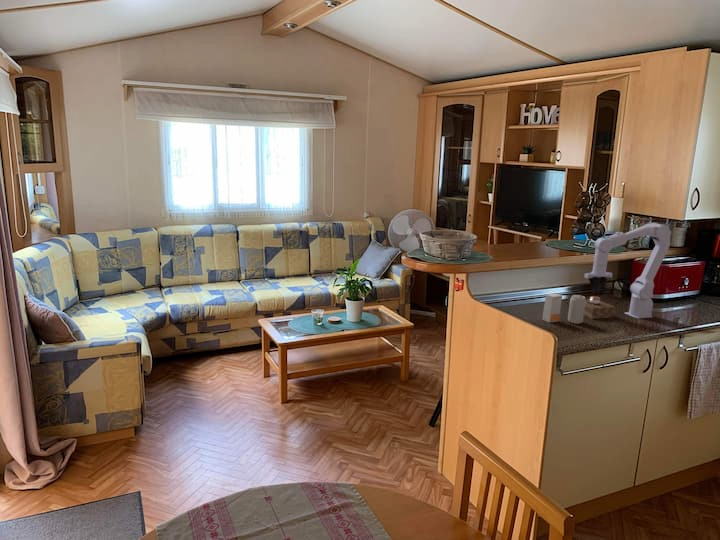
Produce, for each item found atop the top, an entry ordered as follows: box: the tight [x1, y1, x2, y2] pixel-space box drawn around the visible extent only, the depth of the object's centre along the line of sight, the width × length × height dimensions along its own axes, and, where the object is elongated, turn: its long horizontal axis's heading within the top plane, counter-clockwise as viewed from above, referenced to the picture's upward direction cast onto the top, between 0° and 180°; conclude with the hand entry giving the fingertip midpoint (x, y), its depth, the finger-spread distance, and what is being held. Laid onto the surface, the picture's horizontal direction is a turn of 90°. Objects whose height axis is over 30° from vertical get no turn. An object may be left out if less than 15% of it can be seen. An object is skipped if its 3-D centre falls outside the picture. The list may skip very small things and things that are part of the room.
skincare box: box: [541, 293, 563, 323], centre depth 245 cm, size 6×4×12 cm
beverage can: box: [567, 294, 587, 325], centre depth 245 cm, size 6×6×12 cm
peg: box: [589, 295, 601, 305], centre depth 259 cm, size 4×4×4 cm
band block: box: [584, 298, 616, 320], centre depth 260 cm, size 13×13×5 cm
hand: (595, 292), depth 258 cm, fingers closed
